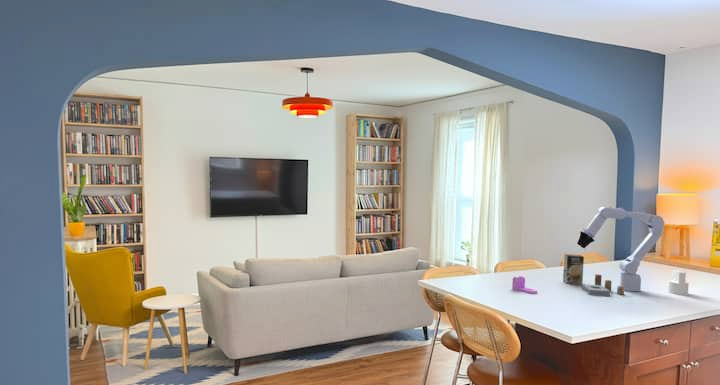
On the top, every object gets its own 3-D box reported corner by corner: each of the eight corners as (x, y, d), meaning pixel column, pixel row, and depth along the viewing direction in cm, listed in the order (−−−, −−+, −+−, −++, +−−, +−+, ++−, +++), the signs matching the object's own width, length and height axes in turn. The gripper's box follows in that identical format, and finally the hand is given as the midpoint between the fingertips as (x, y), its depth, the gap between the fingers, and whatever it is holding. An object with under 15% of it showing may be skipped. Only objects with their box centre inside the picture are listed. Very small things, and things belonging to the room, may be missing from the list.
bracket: (512, 289, 261) (512, 276, 261) (519, 288, 264) (519, 275, 264) (532, 294, 251) (533, 281, 250) (539, 293, 254) (540, 280, 253)
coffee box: (566, 283, 279) (567, 255, 279) (562, 281, 286) (563, 254, 285) (582, 284, 278) (584, 256, 278) (579, 282, 285) (580, 254, 284)
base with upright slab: (691, 295, 257) (692, 273, 257) (672, 294, 259) (673, 272, 259) (683, 291, 266) (684, 270, 266) (665, 290, 268) (666, 269, 268)
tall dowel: (600, 287, 273) (600, 274, 272) (601, 288, 269) (602, 275, 269) (593, 286, 273) (594, 274, 273) (595, 287, 270) (596, 275, 270)
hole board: (601, 289, 265) (601, 285, 265) (610, 295, 252) (610, 291, 251) (581, 288, 267) (582, 284, 267) (589, 294, 253) (589, 289, 253)
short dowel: (622, 293, 258) (622, 286, 257) (624, 295, 254) (625, 287, 254) (616, 293, 258) (616, 285, 258) (618, 294, 255) (618, 287, 255)
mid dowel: (609, 290, 265) (610, 280, 265) (612, 291, 262) (612, 281, 262) (603, 289, 266) (604, 279, 266) (605, 291, 263) (606, 281, 262)
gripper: (591, 225, 278) (577, 244, 280) (585, 219, 267) (570, 239, 269) (602, 231, 274) (588, 251, 275) (597, 226, 263) (582, 246, 264)
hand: (580, 246), depth 272 cm, fingers open, 7 cm apart
